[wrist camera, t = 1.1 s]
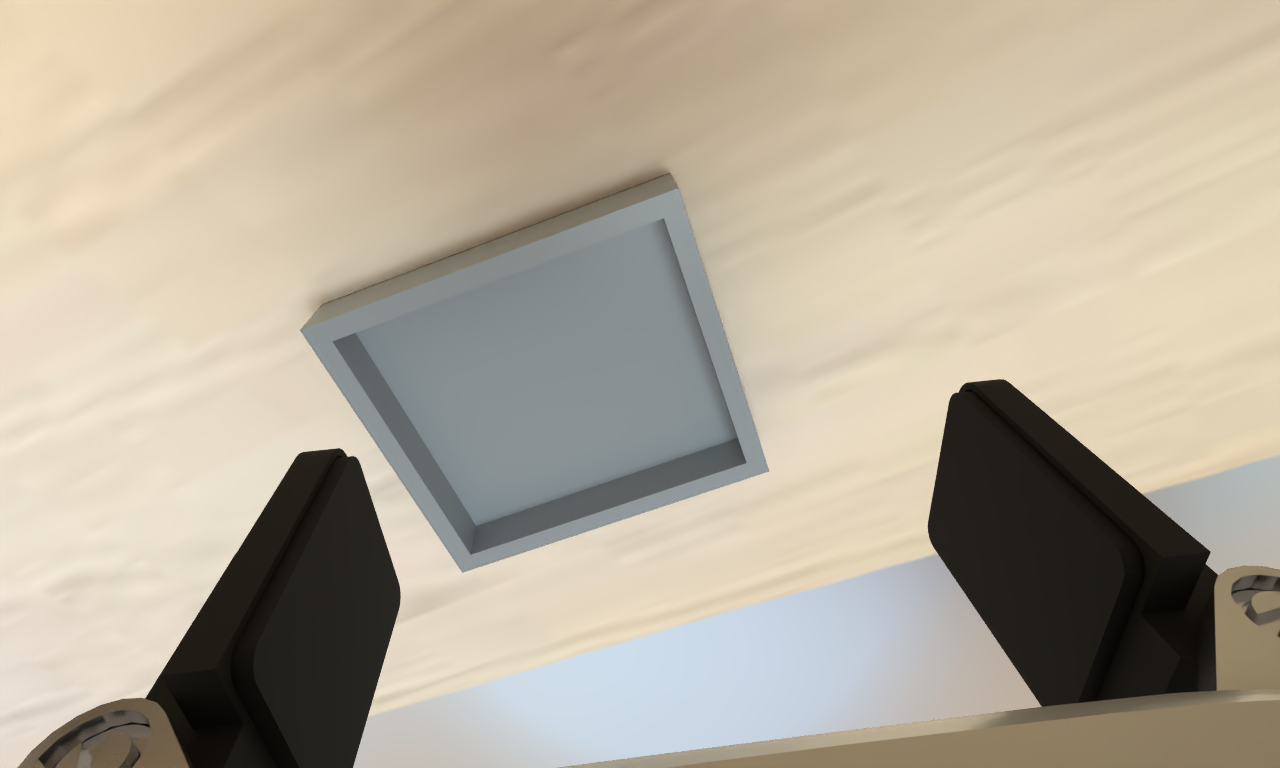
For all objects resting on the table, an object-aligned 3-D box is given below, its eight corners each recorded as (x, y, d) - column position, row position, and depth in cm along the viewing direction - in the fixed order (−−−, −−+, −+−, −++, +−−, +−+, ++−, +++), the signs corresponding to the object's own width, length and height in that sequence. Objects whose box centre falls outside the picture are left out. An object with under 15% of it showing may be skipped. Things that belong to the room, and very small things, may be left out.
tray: (669, 173, 32) (678, 187, 29) (756, 440, 39) (769, 471, 37) (321, 304, 33) (299, 329, 31) (469, 536, 41) (462, 572, 38)
